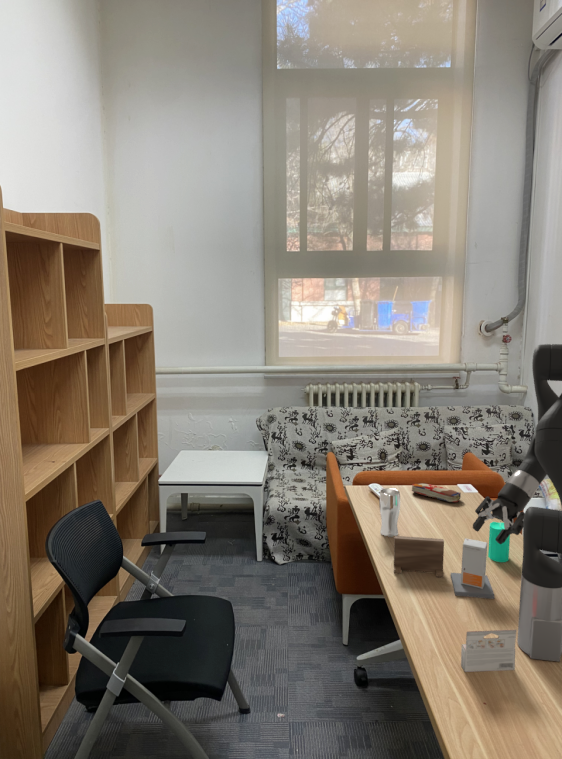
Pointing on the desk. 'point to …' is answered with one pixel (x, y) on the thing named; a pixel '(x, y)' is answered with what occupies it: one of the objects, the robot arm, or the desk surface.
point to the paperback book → (436, 492)
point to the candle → (495, 549)
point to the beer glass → (389, 511)
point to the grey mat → (471, 588)
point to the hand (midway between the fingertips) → (486, 535)
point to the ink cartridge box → (489, 651)
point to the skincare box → (474, 563)
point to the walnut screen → (418, 555)
